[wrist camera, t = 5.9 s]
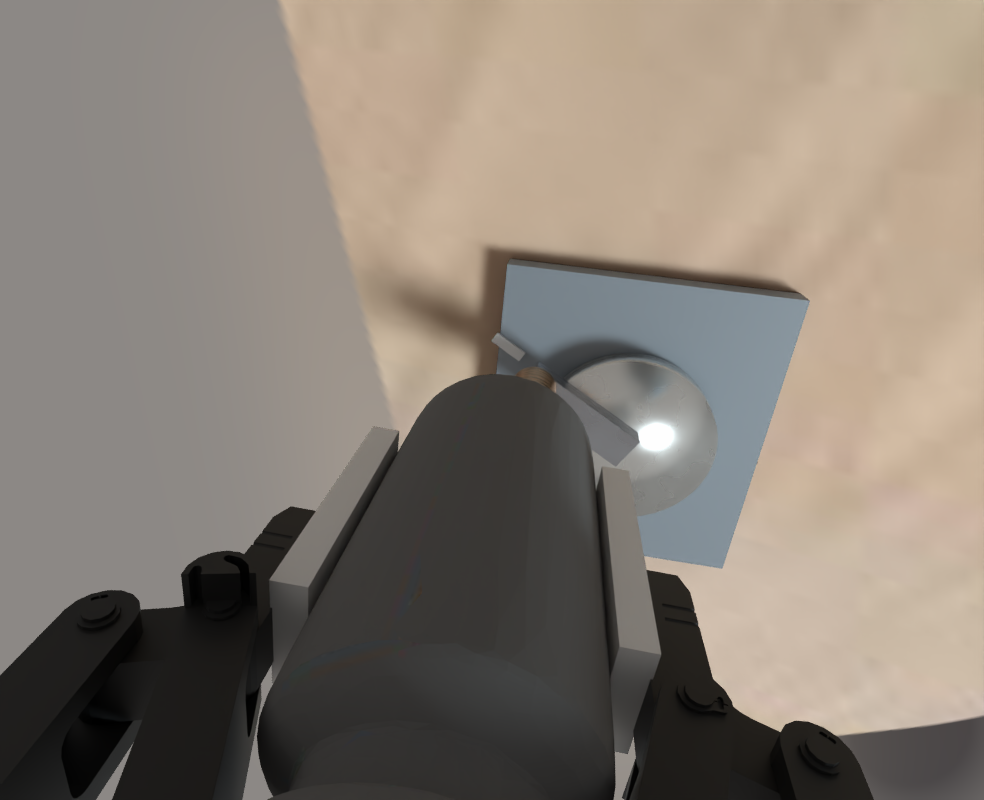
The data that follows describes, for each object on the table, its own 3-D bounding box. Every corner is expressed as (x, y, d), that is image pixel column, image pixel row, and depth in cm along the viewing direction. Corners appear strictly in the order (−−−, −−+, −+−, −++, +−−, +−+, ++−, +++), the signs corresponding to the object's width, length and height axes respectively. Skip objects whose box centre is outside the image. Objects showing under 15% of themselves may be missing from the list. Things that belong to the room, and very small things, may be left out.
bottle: (457, 552, 21) (242, 1348, 7) (379, 408, 19) (-121, 1117, 5) (619, 504, 19) (741, 1401, 6) (551, 342, 17) (485, 1100, 4)
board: (501, 257, 34) (497, 263, 33) (800, 293, 33) (811, 302, 31) (476, 515, 42) (472, 530, 40) (717, 553, 40) (722, 570, 39)
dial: (519, 337, 34) (503, 392, 27) (732, 365, 33) (771, 430, 26) (502, 485, 38) (485, 565, 31) (690, 514, 37) (714, 603, 30)
